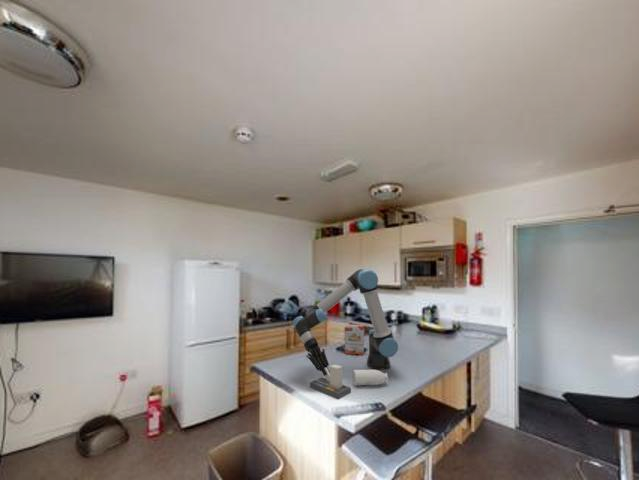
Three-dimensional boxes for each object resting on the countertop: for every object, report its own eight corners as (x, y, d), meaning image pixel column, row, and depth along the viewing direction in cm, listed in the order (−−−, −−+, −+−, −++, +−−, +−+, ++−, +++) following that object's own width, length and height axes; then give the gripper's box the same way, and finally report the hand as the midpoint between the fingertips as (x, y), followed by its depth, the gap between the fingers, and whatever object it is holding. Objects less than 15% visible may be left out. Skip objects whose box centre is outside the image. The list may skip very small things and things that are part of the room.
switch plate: (309, 387, 148) (309, 380, 148) (322, 381, 155) (322, 375, 156) (338, 399, 134) (338, 391, 135) (350, 392, 142) (350, 385, 142)
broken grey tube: (389, 388, 147) (389, 372, 148) (354, 388, 146) (354, 372, 147) (385, 381, 155) (385, 367, 156) (352, 382, 154) (352, 367, 155)
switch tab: (330, 386, 142) (329, 366, 143) (335, 384, 145) (334, 364, 146) (337, 389, 139) (337, 368, 140) (342, 386, 142) (342, 366, 143)
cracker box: (345, 354, 204) (344, 325, 207) (345, 352, 210) (345, 324, 213) (364, 355, 202) (363, 326, 204) (364, 352, 208) (363, 324, 210)
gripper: (313, 342, 164) (334, 380, 151) (297, 347, 155) (318, 387, 142) (320, 335, 161) (342, 373, 148) (304, 339, 152) (325, 380, 138)
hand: (330, 380), depth 145 cm, fingers closed
